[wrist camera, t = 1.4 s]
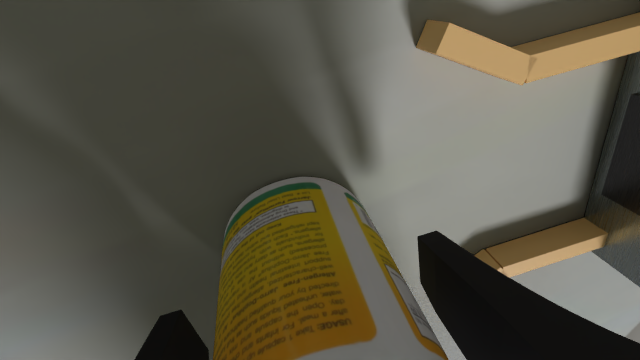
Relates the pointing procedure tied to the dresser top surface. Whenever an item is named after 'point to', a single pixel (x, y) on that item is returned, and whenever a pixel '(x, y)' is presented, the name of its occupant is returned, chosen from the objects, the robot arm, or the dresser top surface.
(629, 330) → the dresser top surface
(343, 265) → the supplement bottle
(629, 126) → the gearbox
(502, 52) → the guard rails
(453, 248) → the robot arm
